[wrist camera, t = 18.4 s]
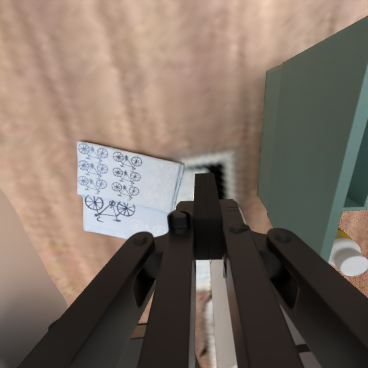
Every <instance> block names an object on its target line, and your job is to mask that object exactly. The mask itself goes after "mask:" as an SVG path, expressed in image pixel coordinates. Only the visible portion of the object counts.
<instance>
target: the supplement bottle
mask: <svg viewBox="0 0 368 368" xmlns="http://www.w3.org/2000/svg"><path fill="white" fill-rule="evenodd" d="M328 263H329V264H331V265H333V266H337V268H338V269H339V270H340V271H341V272H342V273H343V274H344V275H347V276H356V275H360V274H362V273H363V272H365V271H366V270H367V268H368V259H367V258H366V257H365V256H363V254H361V253H360V247H359V245H358V244H357V243H356V242H355V241H354V240H353V239H352V238H350V237H349V236H348V235H347V234H346V233H345V232H344V231H342V230H341V229H340V228H339V227H338V229H337V232H336V236H335V240H334V243H333V247H332V251H331V254H330V258H329V262H328Z"/></svg>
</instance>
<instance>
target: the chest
mask: <svg viewBox="0 0 368 368" xmlns="http://www.w3.org/2000/svg"><path fill="white" fill-rule="evenodd" d="M281 74H282V65H279V66H277V67H275V68H272V69H270V70H268V71H267V72H266V85H265V98H264V111H263V124H262V137H261V150H260V163H259V176H258V189H257V195H258V197H259V198H260V200H261V202H262V203H263V205H264V206H265V208H266V210H268V200H269V190H270V181H271V171H272V161H273V151H274V142H275V132H276V122H277V113H278V103H279V93H280V83H281ZM367 209H368V119H367V123H366V126H365V130H364V134H363V137H362V141H361V145H360V148H359V152H358V156H357V159H356V163H355V167H354V170H353V174H352V178H351V181H350V185H349V189H348V192H347V196H346V199H345V203H344V207H343V210H342V211H359V210H367Z"/></svg>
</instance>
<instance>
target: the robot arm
mask: <svg viewBox="0 0 368 368" xmlns="http://www.w3.org/2000/svg"><path fill="white" fill-rule="evenodd" d="M167 222H168V232H167V233H166V234H164V235H161V236H157V237H154V236H153V234H152V233H150V232H147V231H142V232H137V233H135V234H133V235H132V236H131V237H129V238H128V240H127V241H126V242H125V243H124V244H123V245H122V247H121V248H120V249H119V250H118V251H117V252H116V253H115V255H114V256H113V257H112V258H111V259H110V260H109V262H108V263H107V264H106V265H105V266H104V267H103V269H102V270H101V271H100V272H99V273H98V274H97V276H96V277H95V278H94V279H93V280H92V281H91V282H90V284H89V285H88V286H87V287H86V288H85V289H84V291H83V292H82V293H81V294H80V295H79V296H78V298H77V299H76V300H75V301H74V302H73V303H72V304H71V306H70V307H69V308H68V309H67V310H66V311H65V313H64V314H63V315H62V316H61V317H60V318H59V320H58V321H57V322H56V323H55V324H54V325H53V326H52V328H51V329H50V330H49V331H48V332H47V334H46V335H45V336H44V337H43V338H42V339H41V340H40V342H39V343H38V344H37V345H36V346H35V347H34V349H33V350H32V351H31V352H30V353H29V354H28V355H27V357H26V358H25V359H24V360H23V361H22V362H21V364H20V365H19V366H18V367H17V368H116V366H117V364H118V362H119V360H120V358H121V356H122V354H123V352H124V350H125V348H126V346H127V344H128V342H129V340H130V338H131V336H132V334H133V332H134V330H135V328H136V326H137V324H138V322H139V320H140V318H141V316H142V314H143V312H144V310H145V308H146V306H147V304H148V302H149V300H150V298H151V296H152V294H153V292H154V295H153V299H152V304H151V308H150V312H149V317H148V321H147V326H146V330H145V334H144V339H143V343H142V347H141V352H140V356H139V360H138V365H137V368H195V316H196V260H223V278H225V283H226V290H227V297H228V304H229V311H230V318H231V325H232V332H233V339H234V346H235V353H236V360H237V367H238V368H368V298H367V297H366V296H365V295H363V294H362V293H361V292H360V291H359V290H358V289H357V288H356V287H354V286H353V285H352V284H351V283H350V282H349V281H348V280H347V279H345V278H344V277H343V276H342V275H341V274H340V273H339V272H338V271H336V270H335V269H334V268H333V267H332V266H331V265H330V264H329V263H327V262H326V261H325V260H324V259H323V258H322V257H321V256H320V255H318V254H317V253H316V252H315V251H314V250H313V249H312V248H310V247H309V246H308V245H307V244H306V243H305V242H304V241H303V240H301V239H300V238H299V237H298V236H297V235H296V234H295V233H293V232H292V231H289V230H287V229H283V228H273V229H270V230H269V231H268V232H267V235H266V234H261V233H256V232H253V231H251V230H250V228H249V226H248V225H247V224H245V223H244V221H243V218H242V215H241V213H240V210H239V208H238V204H237V202H235V201H234V200H233V199H221V200H219V197H218V192H217V187H216V182H215V177H214V173H200V174H195V186H194V201H180V202H179V203H178V204H177V206H176V210H175V211H172V212H170V213H169V214H168V215H167ZM154 290H155V291H154Z"/></svg>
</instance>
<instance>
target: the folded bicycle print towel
mask: <svg viewBox="0 0 368 368" xmlns="http://www.w3.org/2000/svg"><path fill="white" fill-rule="evenodd" d="M77 156H78V180H77V194H78V195H80V196H82V197H83V218H84V219H83V228H84V231H87V232H95V233H101V234H105V235H109V236H114V237H119V238H123V239H128V238H129V237H131V236H132V235H133V234H135V233H137V232H142V231H147V232H150V233H152V234H153V236H154V237H157V236H161V235H164V234H166V233H167V232H168V222H167V215H168V214H169V213H170V212H172V211H173V209H174V206H175V202H176V198H177V193H178V189H179V186H180V182H181V179H182V175H183V171H184V164H180V163H176V162H172V161H168V160H163V159H159V158H155V157H150V156H146V155H142V154H137V153H133V152H129V151H125V150H121V149H117V148H112V147H107V146H103V145H98V144H94V143H88V142H84V141H83V142H81V141H77Z"/></svg>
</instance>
